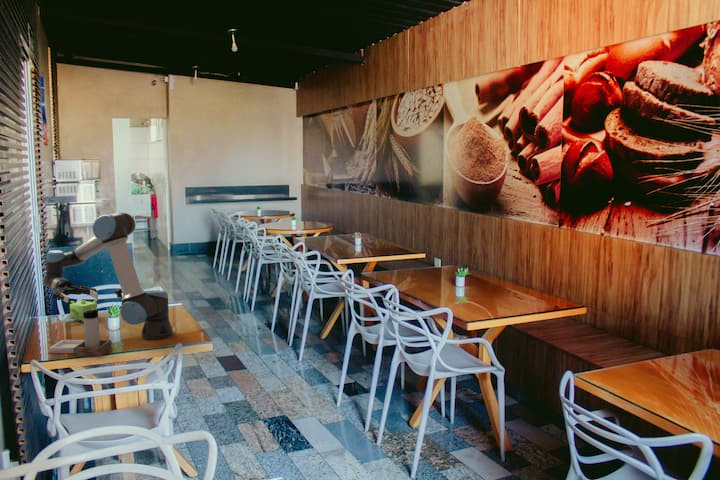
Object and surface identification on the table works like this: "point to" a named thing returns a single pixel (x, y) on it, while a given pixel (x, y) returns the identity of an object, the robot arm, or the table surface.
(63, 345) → the tray
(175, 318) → the table surface
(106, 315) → the table surface
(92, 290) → the robot arm
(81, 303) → the green rounded cube block
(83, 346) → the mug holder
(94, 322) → the travel mug
